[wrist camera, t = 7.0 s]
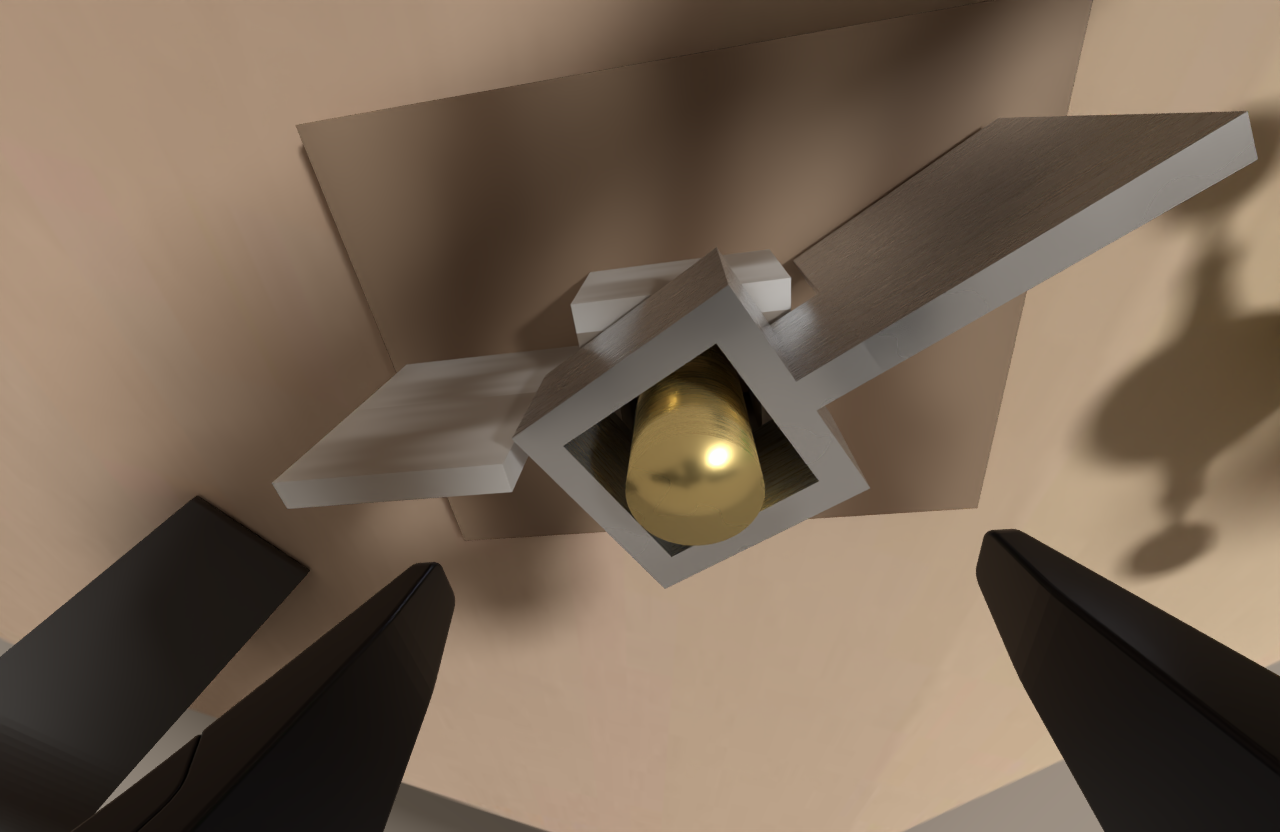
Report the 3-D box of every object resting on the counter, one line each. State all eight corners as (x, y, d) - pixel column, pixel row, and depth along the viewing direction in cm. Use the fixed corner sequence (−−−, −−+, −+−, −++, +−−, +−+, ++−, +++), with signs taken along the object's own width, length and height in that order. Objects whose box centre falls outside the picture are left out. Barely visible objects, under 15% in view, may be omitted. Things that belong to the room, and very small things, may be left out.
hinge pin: (726, 300, 16) (763, 428, 9) (731, 378, 18) (766, 541, 11) (640, 310, 17) (615, 442, 10) (651, 386, 18) (635, 549, 11)
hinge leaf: (961, 28, 12) (1211, -59, 7) (1039, 221, 14) (1285, 285, 9) (568, 331, 17) (511, 438, 11) (668, 446, 19) (664, 589, 13)
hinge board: (1069, -9, 13) (1522, -166, 6) (964, 491, 21) (1110, 677, 14) (316, 125, 16) (25, 124, 9) (472, 525, 23) (385, 695, 16)
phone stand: (228, 637, 29) (-27, 928, 18) (123, 576, 27) (-232, 864, 16) (313, 568, 25) (60, 875, 15) (200, 492, 23) (-183, 785, 13)
